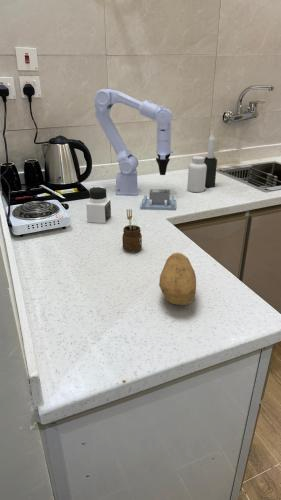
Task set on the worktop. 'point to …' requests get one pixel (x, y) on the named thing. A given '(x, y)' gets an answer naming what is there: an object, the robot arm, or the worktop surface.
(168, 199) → the block
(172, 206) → the tray
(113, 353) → the worktop surface
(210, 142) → the candle
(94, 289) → the worktop surface
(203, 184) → the pill bottle
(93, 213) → the medicine bottle
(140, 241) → the utensil holder
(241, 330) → the worktop surface
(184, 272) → the potato
